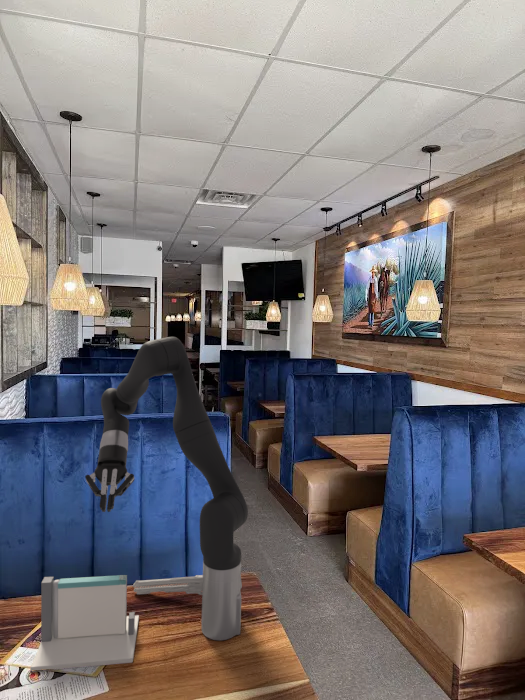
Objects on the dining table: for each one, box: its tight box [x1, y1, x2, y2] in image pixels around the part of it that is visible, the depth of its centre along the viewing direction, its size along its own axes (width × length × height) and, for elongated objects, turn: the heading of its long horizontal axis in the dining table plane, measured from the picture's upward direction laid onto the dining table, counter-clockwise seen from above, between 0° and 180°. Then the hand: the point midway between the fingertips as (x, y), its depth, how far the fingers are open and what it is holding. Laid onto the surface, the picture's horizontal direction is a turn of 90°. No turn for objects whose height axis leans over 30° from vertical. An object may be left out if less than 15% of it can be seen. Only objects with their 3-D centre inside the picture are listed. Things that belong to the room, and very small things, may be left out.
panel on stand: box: [29, 576, 140, 672], centre depth 108 cm, size 21×15×15 cm
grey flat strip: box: [132, 574, 243, 596], centre depth 127 cm, size 2×30×8 cm, turn 82°
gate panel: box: [53, 574, 128, 638], centre depth 110 cm, size 16×2×13 cm, turn 100°
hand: (106, 510), depth 120 cm, fingers closed
